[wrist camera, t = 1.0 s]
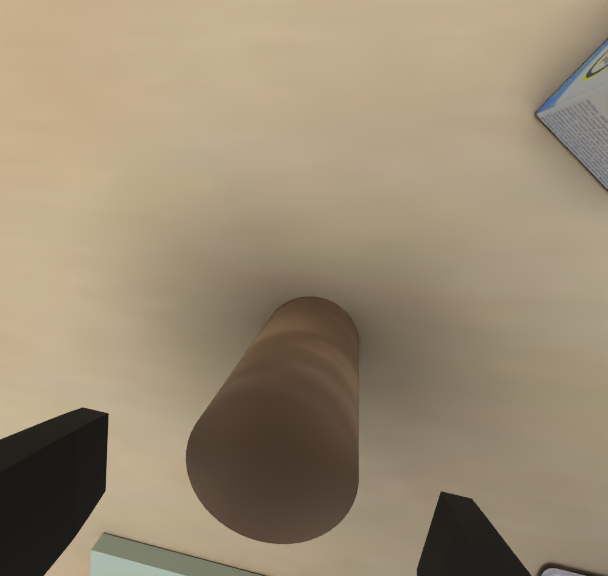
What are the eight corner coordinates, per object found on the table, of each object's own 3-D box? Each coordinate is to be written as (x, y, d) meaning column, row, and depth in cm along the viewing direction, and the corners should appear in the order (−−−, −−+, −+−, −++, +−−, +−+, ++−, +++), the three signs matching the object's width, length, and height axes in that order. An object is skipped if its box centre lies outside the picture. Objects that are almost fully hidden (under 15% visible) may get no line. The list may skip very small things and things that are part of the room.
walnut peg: (367, 307, 16) (376, 413, 8) (348, 394, 17) (340, 561, 9) (272, 288, 16) (193, 373, 9) (259, 374, 17) (179, 520, 10)
